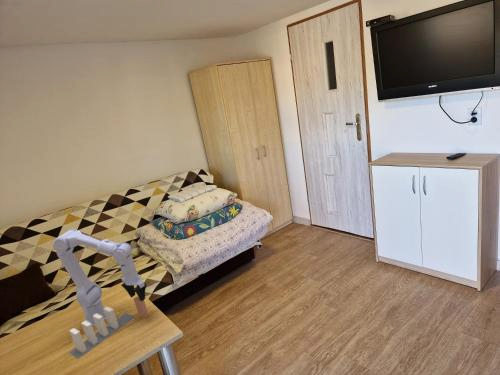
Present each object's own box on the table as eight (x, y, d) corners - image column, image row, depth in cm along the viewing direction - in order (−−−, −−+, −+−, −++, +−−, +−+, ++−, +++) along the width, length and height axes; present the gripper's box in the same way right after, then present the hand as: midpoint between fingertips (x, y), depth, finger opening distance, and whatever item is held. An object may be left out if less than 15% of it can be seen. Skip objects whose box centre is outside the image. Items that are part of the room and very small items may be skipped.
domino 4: (109, 326, 151) (103, 308, 148) (112, 323, 152) (106, 306, 150) (115, 329, 148) (109, 311, 145) (119, 326, 149) (113, 309, 147)
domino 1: (76, 349, 140) (69, 330, 137) (80, 346, 141) (73, 328, 139) (82, 353, 137) (75, 334, 134) (86, 350, 138) (79, 331, 136)
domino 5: (138, 315, 155) (133, 298, 153) (142, 313, 157) (136, 296, 154) (145, 318, 152) (140, 301, 150) (148, 316, 154) (143, 299, 151)
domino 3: (98, 333, 147) (92, 315, 145) (102, 330, 149) (96, 313, 146) (105, 336, 144) (98, 318, 142) (108, 334, 146) (102, 316, 143)
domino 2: (87, 341, 144) (81, 323, 141) (91, 338, 145) (85, 320, 142) (94, 344, 140) (87, 326, 138) (98, 341, 142) (91, 323, 139)
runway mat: (68, 353, 139) (68, 352, 139) (125, 313, 159) (125, 312, 159) (78, 359, 134) (78, 358, 134) (135, 317, 154) (135, 317, 154)
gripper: (146, 269, 146) (155, 296, 150) (127, 263, 155) (136, 289, 159) (132, 277, 141) (141, 305, 145) (113, 271, 150) (123, 298, 154)
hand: (138, 297), depth 152 cm, fingers open, 7 cm apart
